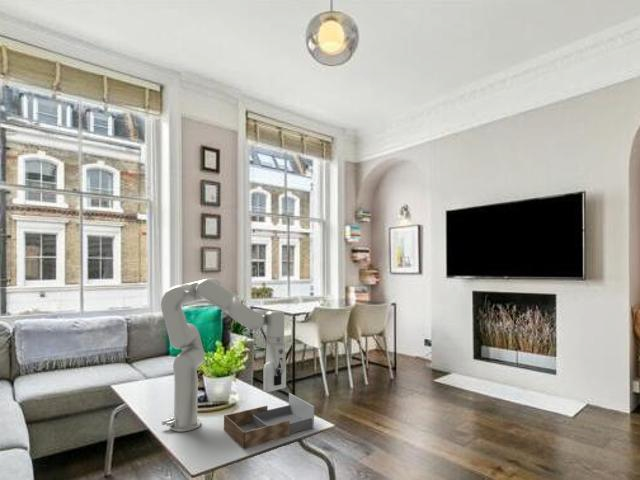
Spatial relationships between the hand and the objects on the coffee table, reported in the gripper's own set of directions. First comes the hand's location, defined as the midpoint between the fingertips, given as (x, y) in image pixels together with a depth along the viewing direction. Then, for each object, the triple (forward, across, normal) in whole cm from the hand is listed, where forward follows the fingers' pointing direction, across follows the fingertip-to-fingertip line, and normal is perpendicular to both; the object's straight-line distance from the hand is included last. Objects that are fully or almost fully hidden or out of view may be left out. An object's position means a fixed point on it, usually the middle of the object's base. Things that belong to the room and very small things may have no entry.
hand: (274, 382), depth 171 cm
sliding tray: (+19, 0, -3) cm, 19 cm away
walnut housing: (+19, 0, +8) cm, 21 cm away
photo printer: (+3, 0, 0) cm, 3 cm away
